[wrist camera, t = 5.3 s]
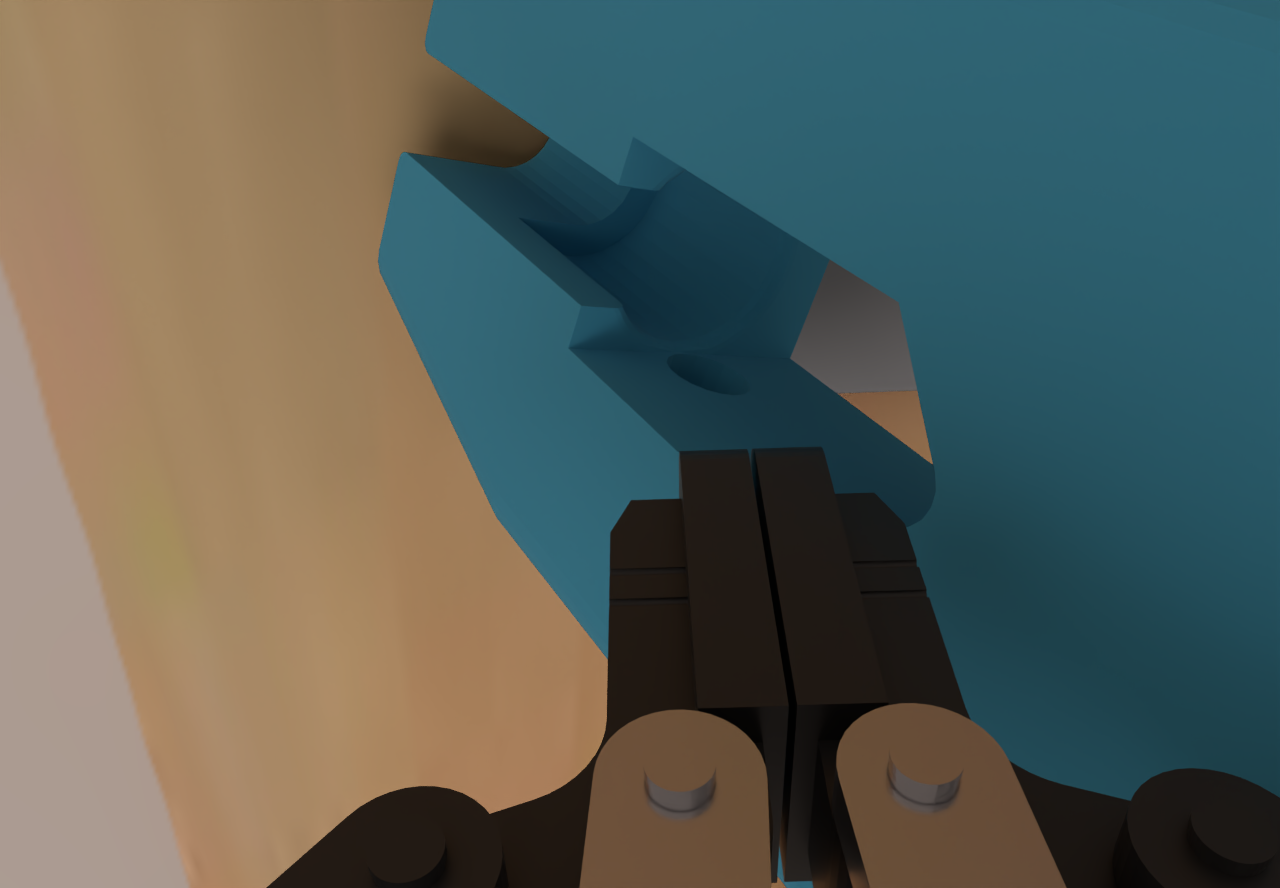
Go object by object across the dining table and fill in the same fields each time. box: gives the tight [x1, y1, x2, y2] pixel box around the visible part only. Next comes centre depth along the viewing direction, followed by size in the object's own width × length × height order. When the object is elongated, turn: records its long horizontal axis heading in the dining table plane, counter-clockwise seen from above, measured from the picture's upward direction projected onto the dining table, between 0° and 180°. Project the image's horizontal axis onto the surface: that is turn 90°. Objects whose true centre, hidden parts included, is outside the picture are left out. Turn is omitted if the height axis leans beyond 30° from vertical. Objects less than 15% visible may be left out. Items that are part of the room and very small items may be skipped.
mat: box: [790, 260, 917, 393], centre depth 25 cm, size 16×16×1 cm
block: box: [378, 0, 1280, 888], centre depth 17 cm, size 12×5×20 cm
